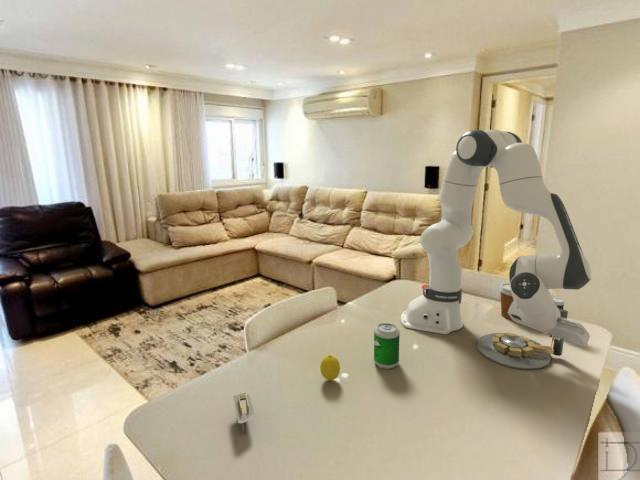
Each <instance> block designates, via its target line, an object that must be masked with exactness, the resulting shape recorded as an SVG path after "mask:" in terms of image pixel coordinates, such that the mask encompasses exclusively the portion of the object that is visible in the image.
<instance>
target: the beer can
mask: <svg viewBox="0 0 640 480" xmlns="http://www.w3.org/2000/svg"><path fill="white" fill-rule="evenodd" d="M552 299H553V300H554V302H555V303H556V305H557V307H558V309H564V308H565V307H564V306H565V301H564V300H563V299H561V298H558V297H552Z"/></svg>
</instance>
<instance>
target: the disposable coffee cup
mask: <svg viewBox="0 0 640 480" xmlns="http://www.w3.org/2000/svg"><path fill="white" fill-rule="evenodd" d="M498 289H499V293H500V309H501V310H500V312H501V316H502V317H503V318H505V319H507V320H512V318H511V317H510V315H509V314H508V310H509V308H510V306H511V304H512V302H513V301H514V299H513V297H512V294H511V289H510V282H508V283H507V282H506V283H502V284H501V285H500V287H498Z"/></svg>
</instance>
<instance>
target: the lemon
mask: <svg viewBox="0 0 640 480" xmlns="http://www.w3.org/2000/svg"><path fill="white" fill-rule="evenodd" d="M340 371H341V365H340V361H339V360H338V358H337V357H336V356H335V355H332V354H327V355H325V356H324V357H323V358H322V360H321V362H320V374H321V376H322V377H323V378H324V379H325V380H327V381H330V382H331V381H333V380H336V379H337V378H338V377H339V375H340Z"/></svg>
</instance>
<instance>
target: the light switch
mask: <svg viewBox="0 0 640 480" xmlns="http://www.w3.org/2000/svg"><path fill="white" fill-rule="evenodd" d="M241 401H245V408H246V410H245V411H246V412H243V407H242V403H241ZM233 403H234V408H235V413H236V419H237V422H238V424H240V425H241V429H242V435H243V436H245V427H244V423H247V421H248V420H249V419H251V418H252V417H253V416H254V415H255V411H254V407H253V402H252V398H251V396H250V395H249V394H246V392H245V391H243V392H240V393H237V394H235V395H233Z"/></svg>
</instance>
